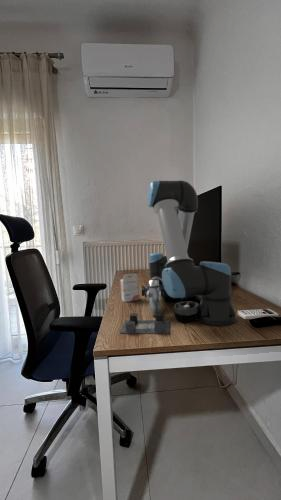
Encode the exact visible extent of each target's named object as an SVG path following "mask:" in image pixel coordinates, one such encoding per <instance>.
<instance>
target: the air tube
mask: <svg viewBox="0 0 281 500" xmlns="http://www.w3.org/2000/svg"><path fill="white" fill-rule="evenodd" d="M148 285H149V297H150V298H149V312H150V314H152V315H156V313H161V300H159V280H150V279H149V280H148Z"/></svg>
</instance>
